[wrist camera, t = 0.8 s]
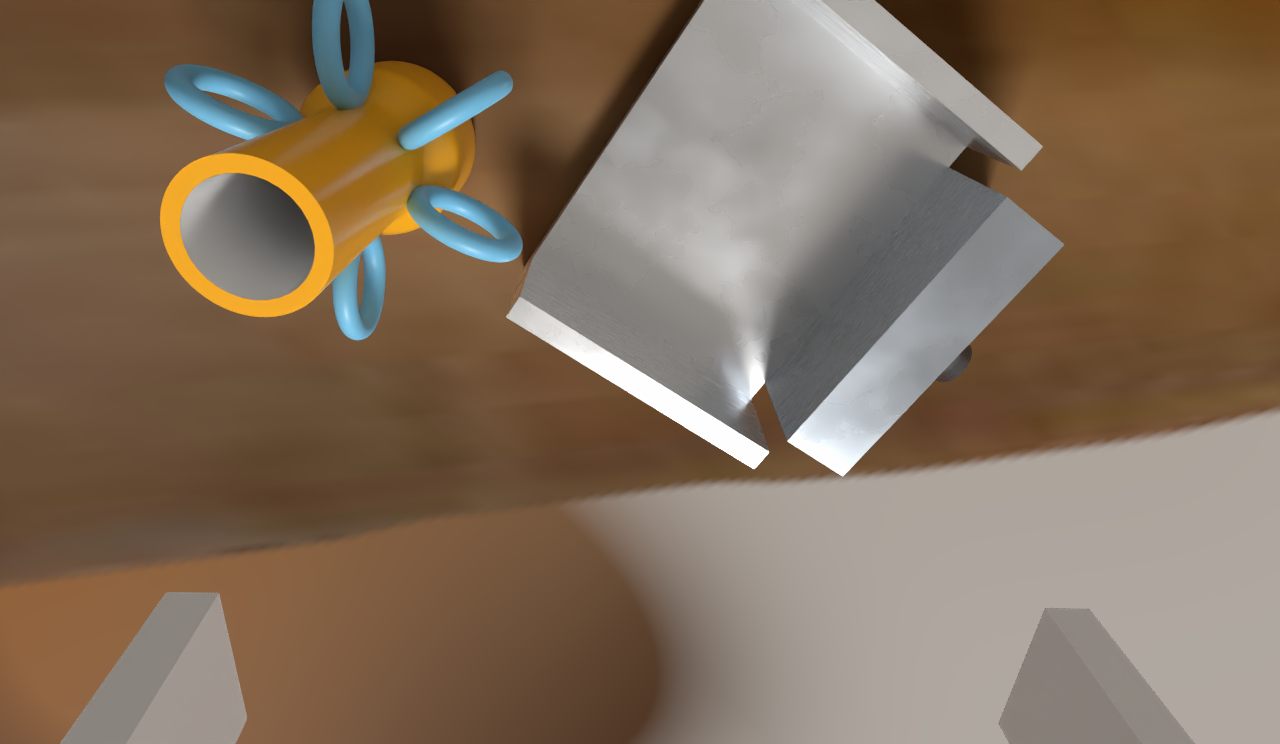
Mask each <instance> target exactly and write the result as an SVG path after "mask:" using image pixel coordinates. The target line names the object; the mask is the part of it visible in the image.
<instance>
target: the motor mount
mask: <svg viewBox="0 0 1280 744" xmlns="http://www.w3.org/2000/svg"><path fill="white" fill-rule="evenodd" d="M966 147H967V148H970V149H972V150H975V151H977V152H979V153H982V154H984V155H986V156H989V157H991V158H993V159H996V160H998V161H1000V162H1003V163H1005V164H1007V165H1010V166H1012V167H1014V168H1017V169H1019V170H1021V171H1022V169H1023V168H1024V167H1025V166H1026V165H1027V164H1028V163H1029V162H1030V161H1031V159H1032V158H1033V157H1034V156H1035V155H1036V154H1037V153H1038V152H1039V150H1040V149H1041V148H1042V147H1043V146H1042V145H1041V144H1039V143H1038V142H1037V141H1036V140H1035V139H1034V138H1033V137H1031V136H1030V135H1029V134H1028V133H1027V132H1026V131H1025V130H1023V129H1022V128H1021V127H1020V126H1019V125H1018V124H1016V123H1015V122H1014V121H1013V120H1012V119H1011V118H1010V117H1008V116H1007V115H1006V114H1005V113H1004V112H1003V111H1001V110H1000V109H999V108H998V107H997V106H996V105H995V104H993V103H992V102H991V101H990V100H989V99H988V98H987V97H985V96H984V95H983V94H982V93H981V92H980V91H978V90H977V89H976V88H975V87H974V86H973V85H972V84H970V83H969V82H968V81H967V80H966V79H965V78H964V77H962V76H961V75H960V74H959V73H958V72H957V71H955V70H954V69H953V68H952V67H951V66H950V65H949V64H947V63H946V62H945V61H944V60H943V59H942V58H940V57H939V56H938V55H937V54H936V53H935V52H934V51H932V50H931V49H930V48H929V47H928V46H927V45H926V44H924V43H923V42H922V41H921V40H920V39H919V38H917V37H916V36H915V35H914V34H913V33H912V32H911V31H909V30H908V29H907V28H906V27H905V26H904V25H902V24H901V23H900V22H899V21H898V20H897V19H896V18H894V17H893V16H892V15H891V14H890V13H889V12H888V11H886V10H885V9H884V8H883V7H882V6H881V5H879V4H878V3H877V2H876V1H875V0H701V1H700V3H699V4H698V6H697V7H696V9H695V10H694V12H693V13H692V15H691V16H690V18H689V19H688V21H687V22H686V24H685V25H684V27H683V28H682V30H681V31H680V33H679V34H678V36H677V37H676V39H675V40H674V42H673V43H672V45H671V46H670V48H669V49H668V51H667V52H666V54H665V55H664V57H663V58H662V60H661V62H660V63H659V65H658V66H657V68H656V69H655V71H654V72H653V74H652V75H651V77H650V78H649V80H648V81H647V83H646V84H645V86H644V87H643V89H642V90H641V92H640V93H639V95H638V96H637V98H636V99H635V101H634V102H633V104H632V105H631V107H630V108H629V110H628V111H627V113H626V114H625V116H624V117H623V119H622V120H621V122H620V123H619V125H618V126H617V128H616V129H615V131H614V132H613V134H612V135H611V137H610V138H609V140H608V141H607V143H606V144H605V146H604V147H603V149H602V150H601V152H600V153H599V155H598V156H597V158H596V159H595V161H594V162H593V164H592V165H591V167H590V168H589V170H588V171H587V173H586V174H585V176H584V177H583V179H582V180H581V182H580V183H579V185H578V186H577V188H576V189H575V191H574V192H573V194H572V195H571V197H570V198H569V200H568V201H567V203H566V204H565V206H564V207H563V209H562V210H561V212H560V213H559V215H558V216H557V218H556V219H555V221H554V222H553V224H552V225H551V227H550V228H549V230H548V231H547V233H546V234H545V236H544V237H543V239H542V240H541V242H540V243H539V245H538V246H537V248H536V249H535V251H534V253H533V254H532V256H531V257H530V259H529V260H528V262H527V263H526V265H525V266H524V268H523V271H522V273H521V276H520V279H519V282H518V285H517V288H516V290H515V293H514V296H513V299H512V302H511V305H510V307H509V310H508V313H507V316H506V317H507V318H508V319H510V320H511V321H513V322H515V323H516V324H518V325H520V326H521V327H523V328H525V329H526V330H528V331H529V332H531V333H533V334H534V335H536V336H538V337H539V338H541V339H542V340H544V341H546V342H547V343H549V344H551V345H552V346H554V347H556V348H557V349H559V350H560V351H562V352H564V353H565V354H567V355H569V356H570V357H572V358H573V359H575V360H577V361H578V362H580V363H582V364H583V365H585V366H587V367H588V368H590V369H591V370H593V371H595V372H596V373H598V374H600V375H601V376H603V377H605V378H606V379H608V380H609V381H611V382H613V383H614V384H616V385H618V386H619V387H621V388H622V389H624V390H626V391H627V392H629V393H631V394H632V395H634V396H636V397H637V398H639V399H640V400H642V401H644V402H645V403H647V404H649V405H650V406H652V407H653V408H655V409H657V410H658V411H660V412H662V413H663V414H665V415H667V416H668V417H670V418H671V419H673V420H675V421H676V422H678V423H680V424H681V425H683V426H685V427H686V428H688V429H689V430H691V431H693V432H694V433H696V434H698V435H699V436H701V437H702V438H704V439H706V440H707V441H709V442H711V443H712V444H714V445H716V446H717V447H719V448H720V449H722V450H724V451H725V452H727V453H729V454H730V455H732V456H733V457H735V458H737V459H738V460H740V461H742V462H743V463H745V464H747V465H748V466H750V467H751V468H753V469H755V468H756V467H757V465H758V464H759V463H760V462H761V461H762V460H763V459H764V458H765V457H766V455H767V454H768V453H769V450H768V447H767V444H766V441H765V438H764V435H763V432H762V429H761V426H760V423H759V420H758V417H757V414H756V411H755V408H754V405H753V402H752V399H751V398H752V397H753V396H754V395H755V393H756V392H757V391H758V390H759V389H760V388H761V386H762V385H763V384H764V383H765V384H766V387H767V390H768V392H769V395H770V397H771V400H772V403H773V405H774V408H775V411H776V413H777V416H778V418H779V421H780V424H781V426H782V429H783V431H784V434H785V437H786V439H787V441H788V442H789V443H791V444H792V445H794V446H796V447H797V448H799V449H800V450H802V451H803V452H805V453H807V454H808V455H810V456H811V457H813V458H814V459H816V460H818V461H819V462H821V463H822V464H824V465H825V466H827V467H829V468H830V469H832V470H833V471H835V472H836V473H838V474H840V475H841V476H844V475H845V474H846V473H847V472H848V471H849V470H850V468H851V467H852V466H853V465H854V464H855V463H856V462H857V461H858V460H859V459H860V458H861V457H862V456H863V455H864V454H865V453H866V452H867V451H868V450H869V449H870V448H871V446H872V445H873V444H874V443H875V442H876V441H877V440H878V439H879V438H880V437H881V436H882V435H883V434H884V433H885V432H886V431H887V430H888V429H889V428H890V427H891V426H892V425H893V423H894V422H895V421H896V420H897V419H898V418H899V417H900V416H901V415H902V414H903V413H904V412H905V411H906V410H907V409H908V408H909V407H910V406H911V405H912V404H913V403H914V401H915V400H916V399H917V398H918V397H919V396H920V395H921V394H922V393H923V392H924V391H925V390H926V389H927V388H928V387H929V386H930V385H931V384H932V383H933V382H934V381H935V380H937V381H939V382H948V381H951V380H953V379H954V378H956V377H957V376H958V375H960V374H961V373H962V372H963V371H964V369H965V368H966V367H967V365H968V363H969V361H970V359H971V355H972V349H971V346H970V345H969V344H970V343H971V342H972V341H973V340H974V339H975V338H976V337H977V336H978V335H979V333H980V332H981V331H982V330H983V329H984V328H985V327H986V326H987V325H988V324H989V323H990V322H991V321H992V320H993V319H994V318H995V317H996V316H997V315H998V314H999V313H1000V311H1001V310H1002V309H1003V308H1004V307H1005V306H1006V305H1007V304H1008V303H1009V302H1010V301H1011V300H1012V299H1013V298H1014V297H1015V296H1016V295H1017V294H1018V293H1019V292H1020V291H1021V290H1022V288H1023V287H1024V286H1025V285H1026V284H1027V283H1028V282H1029V281H1030V280H1031V279H1032V278H1033V277H1034V276H1035V275H1036V274H1037V273H1038V272H1039V271H1040V270H1041V269H1042V268H1043V266H1044V265H1045V264H1046V263H1047V262H1048V261H1049V260H1050V259H1051V258H1052V257H1053V256H1054V255H1055V254H1056V253H1057V252H1058V251H1059V250H1060V249H1061V248H1062V247H1063V246H1064V244H1063V243H1062V242H1061V241H1059V240H1058V239H1057V238H1056V237H1055V236H1053V235H1052V234H1051V233H1050V232H1049V231H1047V230H1046V229H1045V228H1044V227H1042V226H1041V225H1040V224H1039V223H1038V222H1036V221H1035V220H1034V219H1033V218H1032V217H1030V216H1029V215H1028V214H1027V213H1026V212H1024V211H1023V210H1022V209H1021V208H1020V207H1018V206H1017V205H1016V204H1015V203H1013V202H1012V201H1011V200H1010V199H1009V198H1007V197H1006V196H1004V195H1002V194H1000V193H998V192H996V191H994V190H992V189H990V188H988V187H986V186H984V185H982V184H980V183H978V182H976V181H974V180H972V179H970V178H968V177H967V176H965V175H963V174H961V173H959V172H957V171H955V170H953V169H951V168H949V167H950V165H951V164H952V163H953V162H954V161H955V160H956V158H957V157H958V156H959V155H960V154H961V153H962V151H963V150H964V149H965V148H966Z"/></svg>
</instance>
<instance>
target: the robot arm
mask: <svg viewBox="0 0 1280 744" xmlns="http://www.w3.org/2000/svg"><path fill="white" fill-rule="evenodd" d="M246 720H247V715H246V711H245V707H244V702H243V698H242V693H241V689H240V684H239V680H238V675H237V671H236V667H235V662H234V658H233V654H232V649H231V644H230V640H229V635H228V631H227V627H226V622H225V618H224V613H223V609H222V604H221V600H220V595H219V593H189V592H188V593H187V592H166V593H165V595H164V596H163V598H162V599H161V601H160V602H159V603H158V605H157V606H156V608H155V609H154V610H153V612H152V613H151V615H150V616H149V617H148V619H147V620H146V622H145V623H144V625H143V626H142V627H141V629H140V631H139V632H138V633H137V635H136V636H135V638H134V639H133V640H132V642H131V643H130V645H129V646H128V647H127V649H126V651H125V652H124V653H123V655H122V656H121V657H120V659H119V660H118V662H117V663H116V665H115V666H114V667H113V669H112V670H111V672H110V673H109V675H108V676H107V677H106V679H105V680H104V682H103V683H102V685H101V686H100V687H99V689H98V690H97V692H96V693H95V694H94V696H93V697H92V699H91V700H90V702H89V703H88V704H87V706H86V707H85V709H84V710H83V711H82V713H81V714H80V716H79V717H78V719H77V720H76V722H75V723H74V724H73V726H72V727H71V729H70V730H69V731H68V733H67V734H66V736H65V737H64V739H63V740H62V742H61V743H60V744H235V743H236V741H237V739H238V737H239V735H240V733H241V731H242V729H243V726H244V724H245V722H246ZM999 725H1000V727H1001V729H1002V730H1003V732H1004V734H1005V736H1006V738H1007V740H1008V742H1009V743H1010V744H1195V743H1194V742H1193V741H1192V739H1191V738H1190V737H1189V736H1188V734H1187V733H1186V732H1185V731H1184V729H1183V728H1182V727H1181V726H1180V724H1179V723H1178V722H1177V720H1176V719H1175V718H1174V716H1173V715H1172V714H1171V713H1170V711H1169V710H1168V709H1167V708H1166V706H1165V705H1164V704H1163V702H1162V701H1161V700H1160V699H1159V697H1158V696H1157V695H1156V693H1155V692H1154V691H1153V690H1152V688H1151V687H1150V686H1149V685H1148V683H1147V682H1146V681H1145V679H1144V678H1143V677H1142V676H1141V674H1140V673H1139V672H1138V671H1137V669H1136V668H1135V667H1134V665H1133V664H1132V663H1131V662H1130V660H1129V659H1128V658H1127V656H1126V655H1125V654H1124V653H1123V651H1122V650H1121V649H1120V648H1119V646H1118V645H1117V644H1116V642H1115V641H1114V640H1113V639H1112V637H1111V636H1110V635H1109V634H1108V632H1107V631H1106V630H1105V628H1104V627H1103V626H1102V625H1101V623H1100V622H1099V621H1098V619H1097V618H1096V617H1095V616H1094V614H1093V613H1092V612H1091V611H1090V609H1065V608H1063V609H1062V608H1045V610H1044V612H1043V614H1042V617H1041V619H1040V622H1039V624H1038V627H1037V629H1036V632H1035V634H1034V637H1033V639H1032V642H1031V644H1030V647H1029V649H1028V652H1027V654H1026V656H1025V659H1024V662H1023V664H1022V667H1021V669H1020V671H1019V674H1018V676H1017V679H1016V681H1015V684H1014V686H1013V689H1012V691H1011V694H1010V696H1009V698H1008V701H1007V703H1006V706H1005V708H1004V711H1003V713H1002V716H1001V718H1000V721H999Z"/></svg>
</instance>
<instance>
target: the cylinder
mask: <svg viewBox="0 0 1280 744" xmlns="http://www.w3.org/2000/svg"><path fill="white" fill-rule="evenodd" d="M343 1H344V4H345V7H346V11H347V16H348V22H349V29H350V66H349V70H346V71H344V68H343V62H342V55H341V44H340V20H341V11H342V5H343ZM312 42H313V52H314V59H315V64H316V69H317V73H318V77H319V80H320V84H319V85H318V86H317V87H316V88H314V89H313V91H312V92H311V93H310V94H309V95H308V97H307V98H306V100H305V101H304V103H303V105H302V107H301V109H300V111H298V110H297V109H296V108H295V107H294V106H292V105H291V104H290V103H288V102H287V101H286V100H284V99H283V98H281V97H280V96H278V95H276V94H275V93H273V92H271V91H269V90H268V89H266V88H264V87H262V86H260V85H258V84H256V83H254V82H251V81H249V80H247V79H244V78H242V77H239V76H237V75H234V74H231V73H228V72H225V71H222V70H219V69H215V68H211V67H207V66H201V65H194V64H182V65H177V66H174V67H172V68H171V69H169V70H168V72H167V73H166V75H165V79H164V83H165V87H166V90H167V92H168V93H169V95H170V96H171V98H172V99H173V100H174V101H175V102H176V103H177V104H178V105H180V106H181V107H182V108H183V109H185V110H186V111H187V112H189V113H190V114H192V115H193V116H195V117H197V118H198V119H200V120H202V121H204V122H206V123H207V124H209V125H211V126H213V127H216V128H218V129H220V130H222V131H225V132H227V133H229V134H232V135H235V136H237V137H240V138H243V139H247V141H245V142H242V143H240V144H237V145H234V146H232V147H229V148H227V149H224V150H221V151H219V152H216V153H213V154H211V155H208V156H206V157H203V158H200V159H198V160H196V161H194V162H192V163H190V164H189V165H187V166H186V167H184V168H183V169H182V170H181V171H180V172H179V173H178V174H177V175H176V176H175V177H174V178H173V180H172V181H171V182H170V184H169V186H168V188H167V190H166V192H165V194H164V197H163V201H162V205H161V213H160V224H161V232H162V237H163V240H164V244H165V247H166V249H167V252H168V254H169V256H170V258H171V260H172V262H173V264H174V265H175V267H176V268H177V270H178V271H179V273H180V274H181V275H182V276H183V278H184V279H185V280H186V281H187V282H188V283H189V284H190V285H191V286H192V287H193V288H194V289H195V290H197V291H198V292H199V293H200V294H202V295H203V296H204V297H206V298H207V299H209V300H210V301H212V302H214V303H215V304H217V305H219V306H221V307H223V308H225V309H228V310H230V311H233V312H236V313H240V314H244V315H249V316H256V317H274V316H280V315H285V314H288V313H291V312H294V311H296V310H299V309H301V308H302V307H304V306H306V305H307V304H309V303H310V302H311V301H312V300H313V299H314V298H316V297H317V296H318V295H319V294H320V293H321V292H322V291H323V290H324V289H325V288H326V287H327V286H328V285H329V284H330V283H331V282H332V281H333V303H334V310H335V315H336V318H337V322H338V324H339V326H340V328H341V330H342V332H343V333H344V334H345V335H346V336H347V337H349V338H351V339H353V340H362V339H365V338H367V337H368V336H369V335H370V334H371V333H372V332H373V331H374V329H375V327H376V325H377V323H378V321H379V318H380V314H381V310H382V306H383V300H384V293H385V278H386V269H385V256H384V249H383V245H382V241H381V238H380V236H379V235H380V234H382V235H391V234H400V233H405V232H409V231H412V230H415V229H418V228H420V227H421V228H422V229H423V230H425V231H426V232H427V233H428V234H430V235H431V236H433V237H434V238H436V239H437V240H439V241H440V242H442V243H444V244H445V245H447V246H449V247H451V248H453V249H455V250H457V251H459V252H462V253H464V254H467V255H469V256H472V257H475V258H478V259H482V260H486V261H491V262H508V261H512V260H514V259H515V258H517V257H518V256H519V255H520V253H521V251H522V248H523V242H522V238H521V236H520V234H519V232H518V231H517V230H516V228H515V227H514V226H513V225H512V224H511V223H510V222H509V221H508V220H507V219H505V218H504V217H503V216H502V215H500V214H499V213H497V212H496V211H495V210H493V209H492V208H490V207H488V206H487V205H485V204H483V203H481V202H479V201H478V200H476V199H474V198H471V197H469V196H467V195H465V194H462V193H460V192H459V190H460V189H461V188H462V186H463V185H464V183H465V182H466V180H467V178H468V177H469V174H470V172H471V169H472V166H473V163H474V158H475V150H476V141H475V132H474V127H473V124H472V120H471V118H472V117H474V116H475V115H477V114H478V113H480V112H482V111H483V110H485V109H487V108H488V107H490V106H491V105H493V104H494V103H496V102H498V101H499V100H501V99H502V98H503V97H505V96H506V95H508V94H509V93H510V92H511V90H512V88H513V80H512V78H511V76H510V75H509V74H508V73H507V72H505V71H496V72H494V73H492V74H491V75H489V76H487V77H486V78H484V79H482V80H480V81H479V82H477V83H475V84H474V85H472V86H470V87H469V88H467V89H465V90H464V91H462V92H460V93H459V94H457V93H456V92H455V91H454V89H453V88H452V87H451V86H450V85H449V84H448V83H447V82H445V81H444V80H443V79H442V78H440V77H439V76H438V75H436V74H435V73H433V72H431V71H430V70H428V69H426V68H423V67H421V66H418V65H416V64H412V63H408V62H402V61H382V62H376V63H374V59H375V41H374V27H373V19H372V13H371V8H370V4H369V0H314V3H313V11H312ZM201 90H204V91H209V92H214V93H218V94H221V95H224V96H227V97H230V98H233V99H236V100H238V101H241V102H243V103H245V104H248V105H250V106H252V107H254V108H256V109H258V110H260V111H261V112H263V113H265V114H267V115H268V116H270V117H271V118H273V119H274V120H275V121H273V120H268V119H264V118H260V117H256V116H253V115H250V114H247V113H245V112H242V111H240V110H237V109H235V108H232V107H230V106H228V105H226V104H224V103H222V102H220V101H218V100H216V99H214V98H212V97H211V96H209V95H207V94H206V93H204V92H203V91H201ZM443 210H447V211H450V212H453V213H456V214H458V215H460V216H463V217H465V218H467V219H469V220H471V221H473V222H474V223H476V224H478V225H480V226H481V227H483V228H484V229H486V230H487V231H488V232H490V233H491V234H492V235H493V236H494V237H495V238H496V239H493V238H489V237H485V236H482V235H479V234H477V233H474V232H472V231H470V230H467V229H465V228H463V227H461V226H459V225H458V224H456V223H454V222H452V221H451V220H449V219H448V218H446V217H445V216H443V215H442V214H441V212H442V211H443ZM361 252H362V253H363V260H364V289H363V297H362V302H361V306H360V309H358V301H357V275H358V266H359V261H360V256H361Z"/></svg>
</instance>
